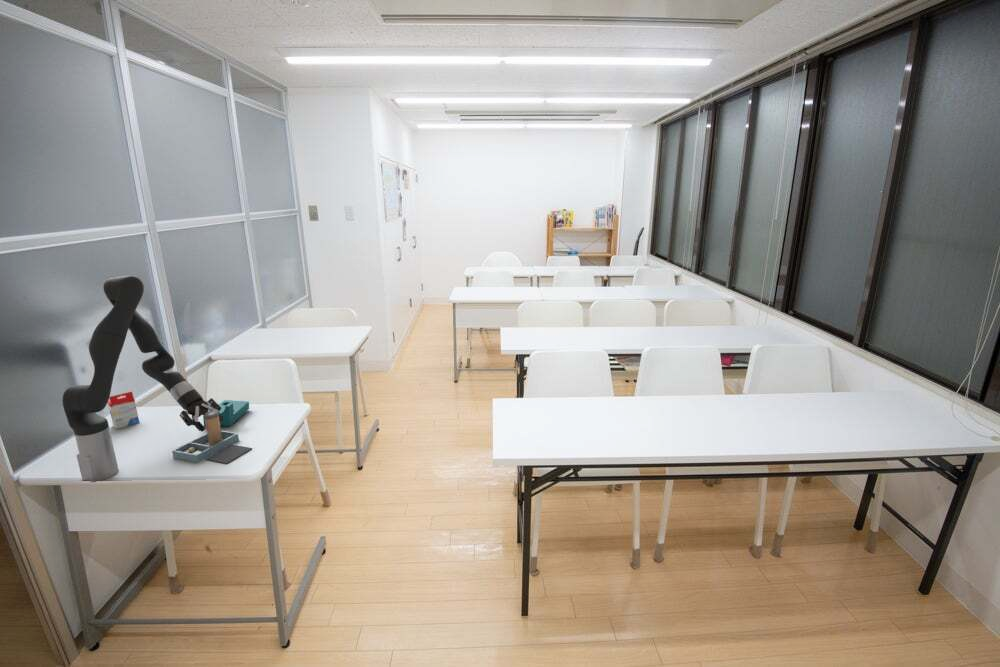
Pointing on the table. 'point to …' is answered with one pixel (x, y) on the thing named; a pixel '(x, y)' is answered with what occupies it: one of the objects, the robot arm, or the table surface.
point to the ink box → (123, 410)
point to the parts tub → (203, 447)
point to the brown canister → (213, 427)
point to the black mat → (228, 454)
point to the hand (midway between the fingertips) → (213, 425)
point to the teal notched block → (231, 411)
